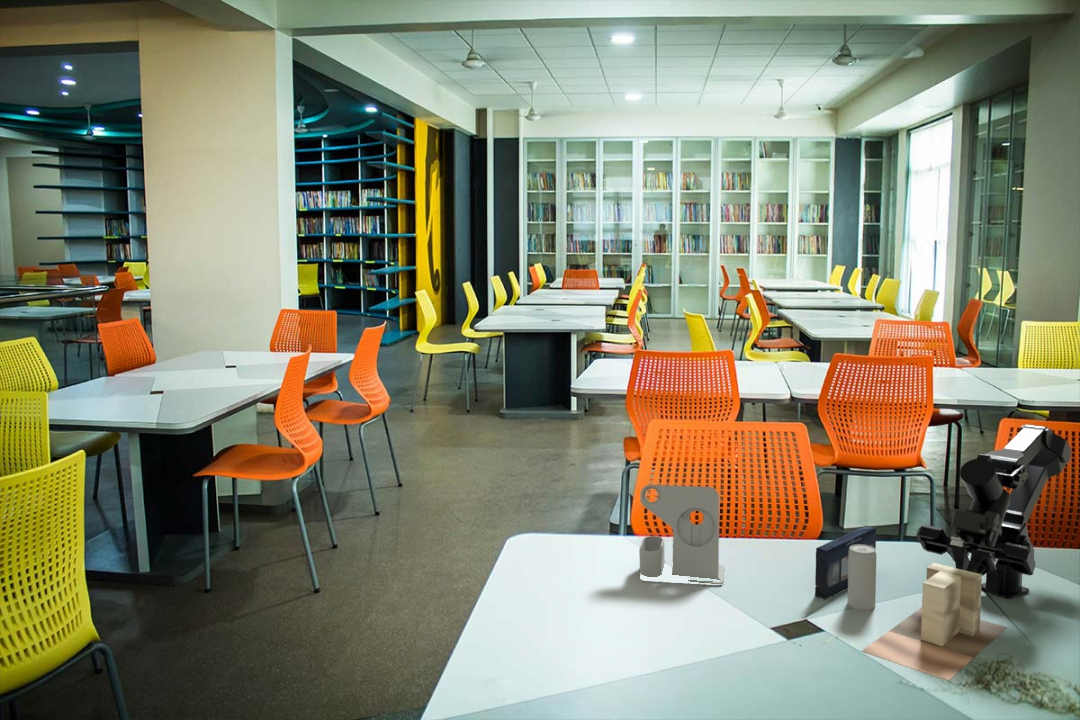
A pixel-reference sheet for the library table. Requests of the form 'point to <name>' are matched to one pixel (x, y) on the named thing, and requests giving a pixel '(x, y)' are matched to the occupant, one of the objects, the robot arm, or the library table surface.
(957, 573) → the T block
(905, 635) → the board
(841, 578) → the vhs cassette tape
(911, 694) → the library table surface
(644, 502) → the phone holder
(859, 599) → the beverage can
